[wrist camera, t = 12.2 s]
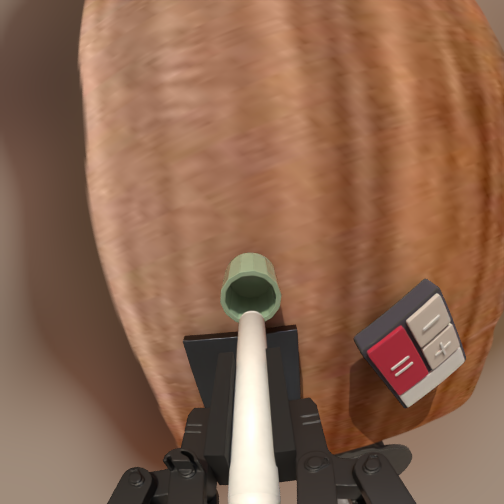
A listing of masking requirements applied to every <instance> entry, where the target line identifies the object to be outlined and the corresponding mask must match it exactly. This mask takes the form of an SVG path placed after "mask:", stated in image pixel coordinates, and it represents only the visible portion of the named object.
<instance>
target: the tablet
mask: <svg viewBox="0 0 504 504" xmlns="http://www.w3.org/2000/svg"><path fill="white" fill-rule="evenodd" d="M265 330H266V341H267V348H274V347H280V350H281V356H282V362H283V368H284V375H285V381H286V387H287V394H288V400H289V401H291V400H298V399H301V397H300V371H299V351H298V333H297V327H296V325H289V326H281V327H274V328H265ZM237 342H238V332H228V333H217V334H204V335H190V336H184V339H183V344H184V347H185V350H186V353H187V357H188V360H189V363H190V366H191V369H192V372H193V375H194V378H195V381H196V384H197V387H198V390H199V393H200V396H201V398H202V401H203V404H204V407H205V408H210V405H211V399H212V392H213V386H214V379H215V373H216V366H217V360H218V354H219V353H225V352H233V355H234V360H235V365H236V357H237Z"/></svg>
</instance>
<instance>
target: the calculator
mask: <svg viewBox="0 0 504 504" xmlns="http://www.w3.org/2000/svg"><path fill="white" fill-rule="evenodd" d="M354 341H355V343H356V345H357V347H358V349H359V351H360V353H361V354H362V355H363V357H364V358H365V359H366V360H367V362H368V363H369V364H370V365H371V367H372V368H373V369H374V370H375V372H376V373H377V374H378V375H379V377H380V378H381V379H382V380H383V382H384V383H385V384H386V386H387V387H388V388H389V389H390V391H391V392H392V393H393V394H394V396H395V397H396V398H397V399H398V401H399V402H400V403H401V405H402V406H403V407H404V408H407V407H410V406H411V405H413V404H414V403H415V402H417V401H418V400H419V399H421V398H422V397H423V396H425V395H426V394H427V393H429V392H430V391H431V390H432V389H434V388H435V387H436V386H437V385H439V384H440V383H441V382H442V381H443V380H445V379H446V378H447V377H448V376H449V375H450V374H452V373H453V372H454V371H455V370H456V369H457V368H458V367H459V366H461V365H462V364H463V363H464V361H465V360H466V356H465V353H464V350H463V347H462V344H461V341H460V338H459V335H458V332H457V330H456V327H455V324H454V322H453V319H452V316H451V314H450V311H449V309H448V306H447V304H446V302H445V299H444V297H443V295H442V292H441V290H440V288H439V287H437V286H436V285H435V284H433V283H432V282H430V281H429V280H428V279H423V280H422V281H421V282H420V283H419V284H418V285H417V286H416V287H415V288H413V289H412V290H411V291H410V292H409V293H408V294H407V295H405V296H404V297H403V298H402V299H401V300H400V301H398V302H397V303H396V304H395V305H394V306H392V307H391V308H390V309H389V310H388V311H386V312H385V313H384V314H383V315H381V316H380V317H379V318H378V319H376V320H375V321H374V322H373V323H371V324H370V325H369V326H368V327H366V328H365V329H364V330H362V331H361V332H360V333H358V334H357V335H356V336H355V337H354Z"/></svg>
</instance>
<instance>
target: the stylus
mask: <svg viewBox="0 0 504 504" xmlns="http://www.w3.org/2000/svg"><path fill="white" fill-rule="evenodd" d="M266 348H267V341H266V330H265V321H264V318H263V316H262V315H261V314H260V313H258V312H256V311H248V312H245V313H244V314H243V315H242V316H241V317H240V320H239V328H238V342H237V357H236V375H235V390H234V406H233V422H232V439H231V456H230V469H229V487H228V504H280V488H279V475H278V467H277V466H276V463H275V457H274V449H273V436H272V423H271V410H270V398H269V385H268V373H267V361H266Z"/></svg>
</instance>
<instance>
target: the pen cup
mask: <svg viewBox="0 0 504 504" xmlns="http://www.w3.org/2000/svg"><path fill="white" fill-rule="evenodd" d="M220 302H221V305H222V307H223V309H224V311H225V313H226V314H227V315H228V316H229V317H230V318H231V319H233V320H234V321H236V322H238V323H239V320H240V317H241V316H242V315H243V314H244V313H245V312H248V311H256V312H258V313H260V314H261V315H262V316H263V318H264V321H267V320H269V319H271V318H272V317H273V316H274V314H275V313H276V312H277V310H278V309H279V307H280V302H281V292H280V287H279V283H278V279H277V275H276V272H275V269H274V267H273V265H272V263H271V262H270V261H269V260H268V259H267V258H266V257H264V256H262V255H260V254H257V253H244V254H241V255H239V256H237V257H235V258H234V259H233V260H232V261H231V262H230V264H229V265H228V267H227V269H226V271H225V276H224V280H223V285H222V289H221V301H220Z"/></svg>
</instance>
